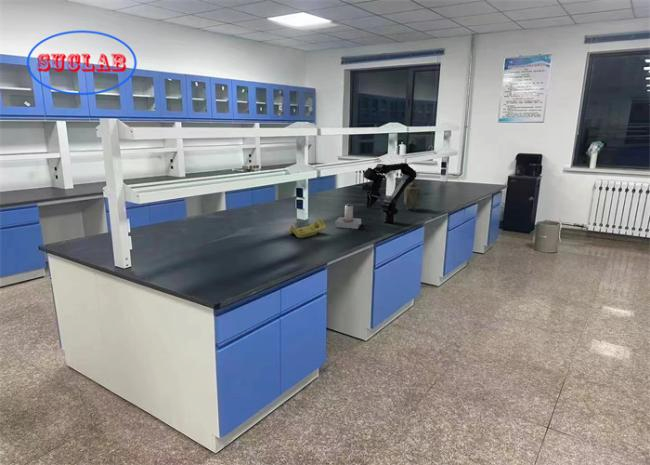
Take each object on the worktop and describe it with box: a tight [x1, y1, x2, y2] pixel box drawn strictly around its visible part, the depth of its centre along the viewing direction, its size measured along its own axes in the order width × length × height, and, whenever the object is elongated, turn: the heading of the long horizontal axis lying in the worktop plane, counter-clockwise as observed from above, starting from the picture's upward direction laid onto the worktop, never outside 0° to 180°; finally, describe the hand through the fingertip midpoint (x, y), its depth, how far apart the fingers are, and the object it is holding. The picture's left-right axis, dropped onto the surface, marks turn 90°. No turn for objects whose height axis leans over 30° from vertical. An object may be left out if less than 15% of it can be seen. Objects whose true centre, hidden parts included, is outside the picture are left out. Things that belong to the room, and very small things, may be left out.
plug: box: [344, 203, 354, 222], centre depth 263 cm, size 5×5×12 cm
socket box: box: [334, 216, 362, 230], centre depth 264 cm, size 14×14×4 cm
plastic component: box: [288, 219, 326, 239], centre depth 242 cm, size 20×7×10 cm
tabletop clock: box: [403, 179, 421, 212], centre depth 316 cm, size 14×9×25 cm, turn 179°
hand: (368, 207), depth 263 cm, fingers open, 9 cm apart
